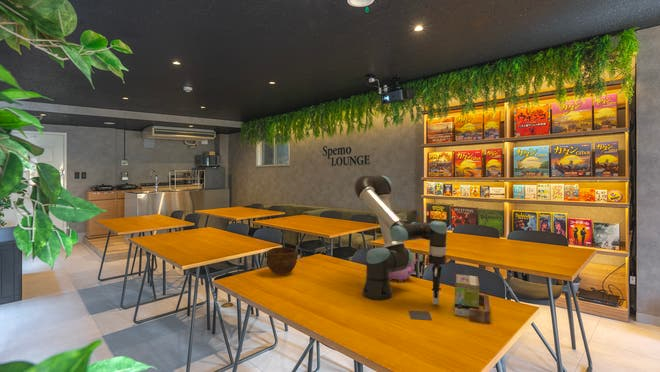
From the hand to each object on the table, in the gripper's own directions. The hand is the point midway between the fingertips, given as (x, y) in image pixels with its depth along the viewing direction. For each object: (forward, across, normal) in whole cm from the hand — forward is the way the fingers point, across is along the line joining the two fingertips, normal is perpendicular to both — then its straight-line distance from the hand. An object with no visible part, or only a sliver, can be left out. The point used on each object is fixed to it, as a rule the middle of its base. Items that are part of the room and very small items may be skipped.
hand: (435, 303), depth 160 cm
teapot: (+2, +34, +24) cm, 41 cm away
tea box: (+1, -1, -14) cm, 14 cm away
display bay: (+1, -1, -19) cm, 19 cm away
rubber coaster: (+2, -14, +5) cm, 15 cm away
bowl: (+3, +15, +93) cm, 94 cm away
